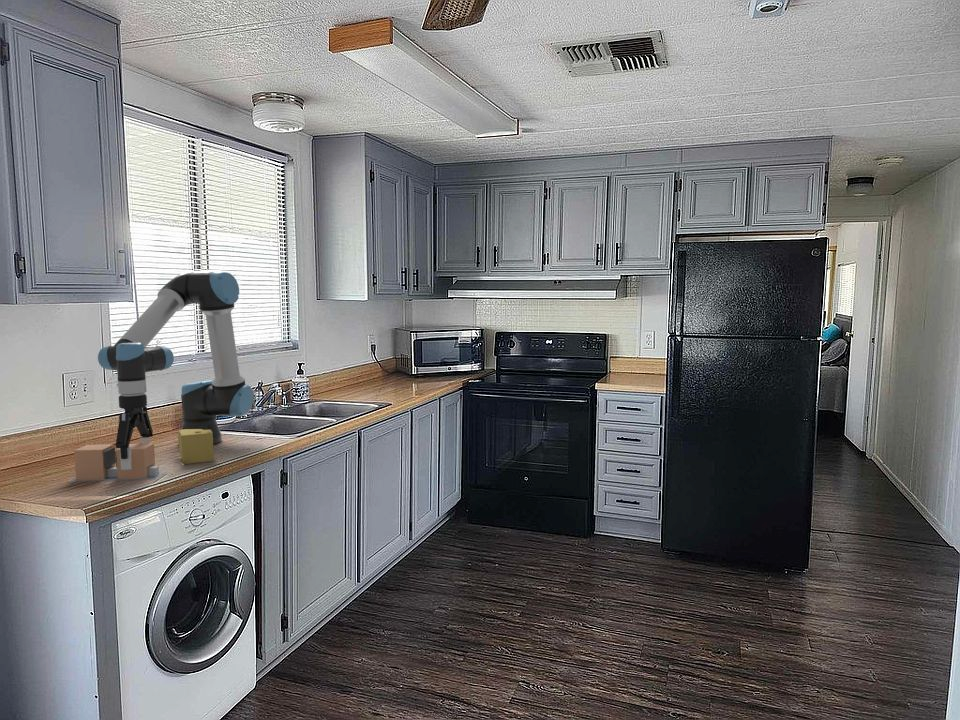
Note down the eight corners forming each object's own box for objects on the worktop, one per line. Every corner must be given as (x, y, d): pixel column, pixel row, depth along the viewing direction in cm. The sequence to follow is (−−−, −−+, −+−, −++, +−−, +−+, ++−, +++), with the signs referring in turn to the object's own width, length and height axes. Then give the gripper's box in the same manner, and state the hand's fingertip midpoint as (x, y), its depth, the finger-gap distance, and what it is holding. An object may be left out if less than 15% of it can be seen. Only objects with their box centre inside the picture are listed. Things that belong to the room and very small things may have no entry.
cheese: (211, 455, 237) (210, 426, 236) (215, 461, 227) (213, 432, 226) (179, 458, 232) (177, 429, 231) (181, 465, 223) (179, 435, 222)
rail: (84, 475, 210) (83, 464, 210) (167, 473, 212) (166, 462, 211) (66, 484, 200) (66, 473, 200) (154, 482, 202) (153, 471, 201)
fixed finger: (88, 473, 209) (86, 444, 208) (117, 472, 209) (115, 444, 208) (76, 480, 201) (74, 450, 200) (106, 479, 202) (104, 449, 201)
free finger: (126, 472, 209) (125, 444, 209) (155, 472, 210) (153, 443, 209) (115, 479, 202) (113, 449, 201) (145, 478, 203) (143, 448, 202)
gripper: (137, 388, 216) (141, 454, 218) (99, 400, 191) (103, 474, 193) (161, 388, 216) (165, 453, 218) (127, 400, 192) (131, 474, 194)
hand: (136, 463), depth 206 cm, fingers open, 13 cm apart
